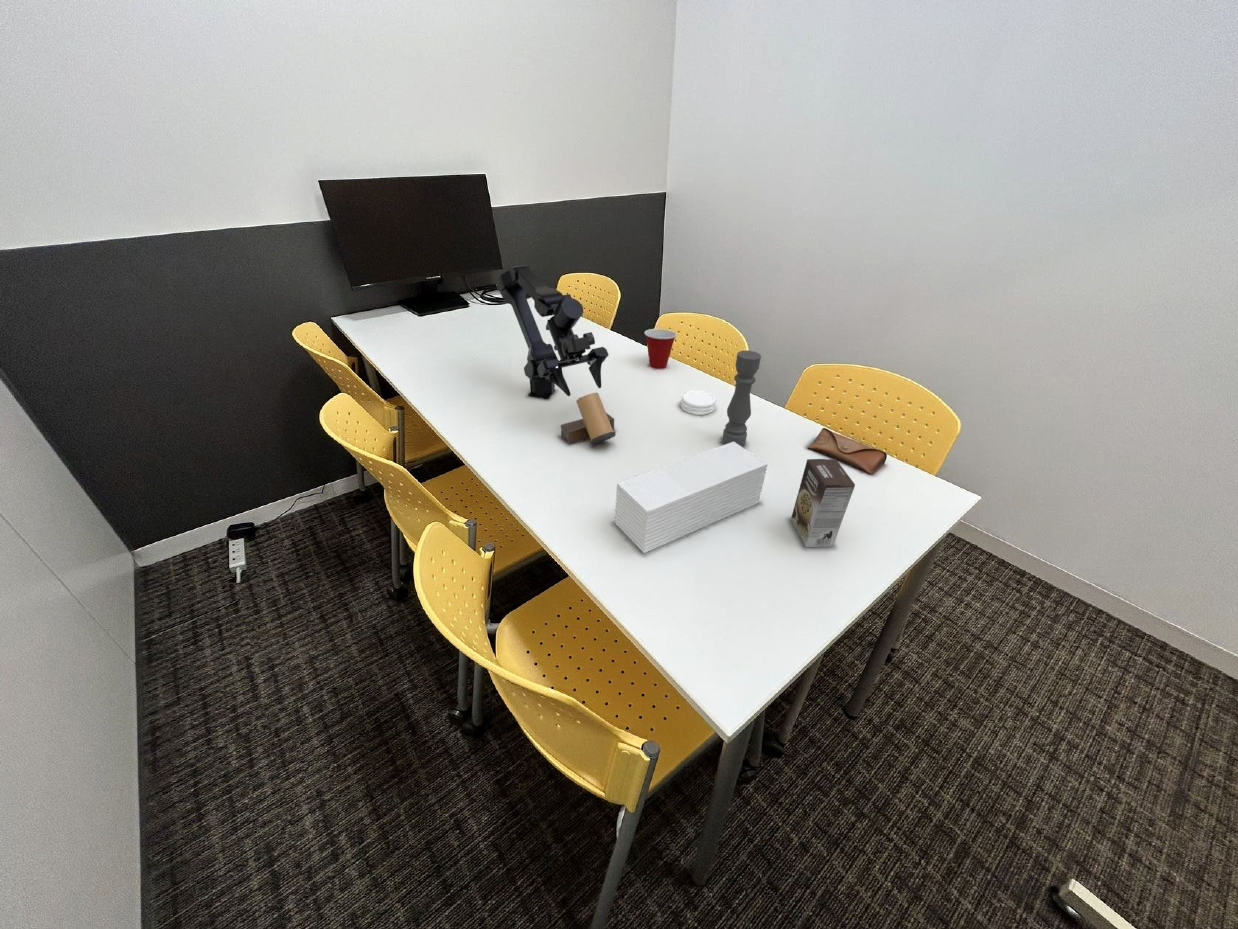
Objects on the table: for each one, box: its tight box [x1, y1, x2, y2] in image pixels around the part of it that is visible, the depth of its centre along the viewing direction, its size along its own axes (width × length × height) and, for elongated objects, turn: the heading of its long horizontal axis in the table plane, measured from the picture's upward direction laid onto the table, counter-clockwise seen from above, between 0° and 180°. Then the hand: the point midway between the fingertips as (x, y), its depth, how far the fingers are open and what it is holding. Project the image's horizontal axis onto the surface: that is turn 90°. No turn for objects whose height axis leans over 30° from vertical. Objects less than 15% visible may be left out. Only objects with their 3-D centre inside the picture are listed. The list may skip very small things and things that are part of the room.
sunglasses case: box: [807, 427, 888, 475], centre depth 138 cm, size 18×7×7 cm
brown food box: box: [790, 458, 856, 548], centre depth 109 cm, size 9×6×16 cm
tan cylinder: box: [575, 392, 617, 445], centre depth 138 cm, size 13×7×13 cm, turn 33°
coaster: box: [680, 389, 717, 416], centre depth 158 cm, size 10×10×4 cm
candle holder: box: [721, 349, 762, 448], centre depth 136 cm, size 6×6×25 cm
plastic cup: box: [643, 328, 678, 370], centre depth 180 cm, size 11×11×12 cm
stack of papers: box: [614, 442, 768, 554], centre depth 114 cm, size 32×11×11 cm, turn 123°
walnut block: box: [560, 412, 615, 445], centre depth 143 cm, size 4×14×4 cm, turn 123°
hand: (585, 391), depth 138 cm, fingers open, 9 cm apart
